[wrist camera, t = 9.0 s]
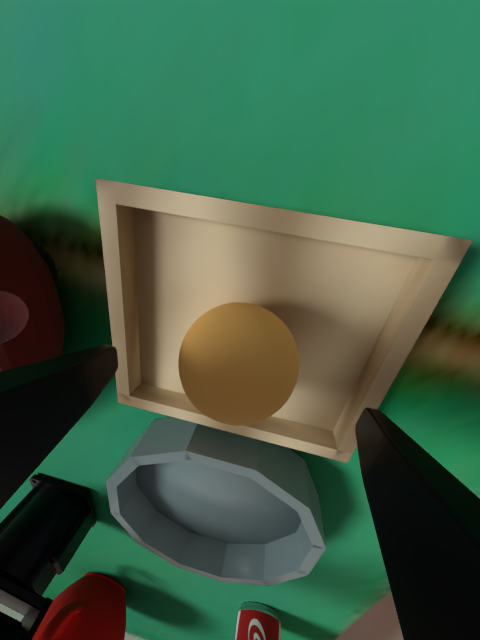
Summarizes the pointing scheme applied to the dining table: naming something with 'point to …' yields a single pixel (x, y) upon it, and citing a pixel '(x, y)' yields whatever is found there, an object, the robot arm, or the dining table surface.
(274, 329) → the ball
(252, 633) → the soda can
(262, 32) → the dining table surface
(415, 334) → the tray
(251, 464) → the bowl
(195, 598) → the dining table surface
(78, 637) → the ceramic cup
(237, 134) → the dining table surface
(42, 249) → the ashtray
